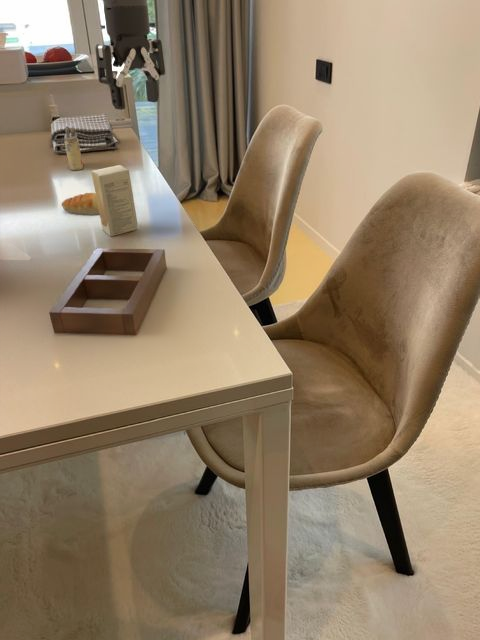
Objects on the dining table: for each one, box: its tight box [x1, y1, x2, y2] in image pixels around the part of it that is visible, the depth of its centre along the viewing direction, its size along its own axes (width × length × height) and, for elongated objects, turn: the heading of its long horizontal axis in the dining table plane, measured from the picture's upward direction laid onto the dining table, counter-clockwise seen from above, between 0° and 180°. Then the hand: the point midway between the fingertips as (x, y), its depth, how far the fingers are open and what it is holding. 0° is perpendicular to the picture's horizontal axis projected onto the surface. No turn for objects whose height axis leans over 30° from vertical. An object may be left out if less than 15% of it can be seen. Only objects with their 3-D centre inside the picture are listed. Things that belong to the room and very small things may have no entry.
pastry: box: [61, 192, 100, 216], centre depth 122 cm, size 9×7×4 cm
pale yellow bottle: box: [64, 126, 84, 171], centre depth 148 cm, size 7×4×10 cm, turn 15°
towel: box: [50, 113, 118, 155], centre depth 166 cm, size 15×18×8 cm
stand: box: [48, 247, 167, 336], centre depth 86 cm, size 12×22×5 cm, turn 177°
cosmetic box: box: [90, 164, 139, 237], centre depth 110 cm, size 6×4×12 cm
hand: (136, 105), depth 104 cm, fingers open, 8 cm apart
